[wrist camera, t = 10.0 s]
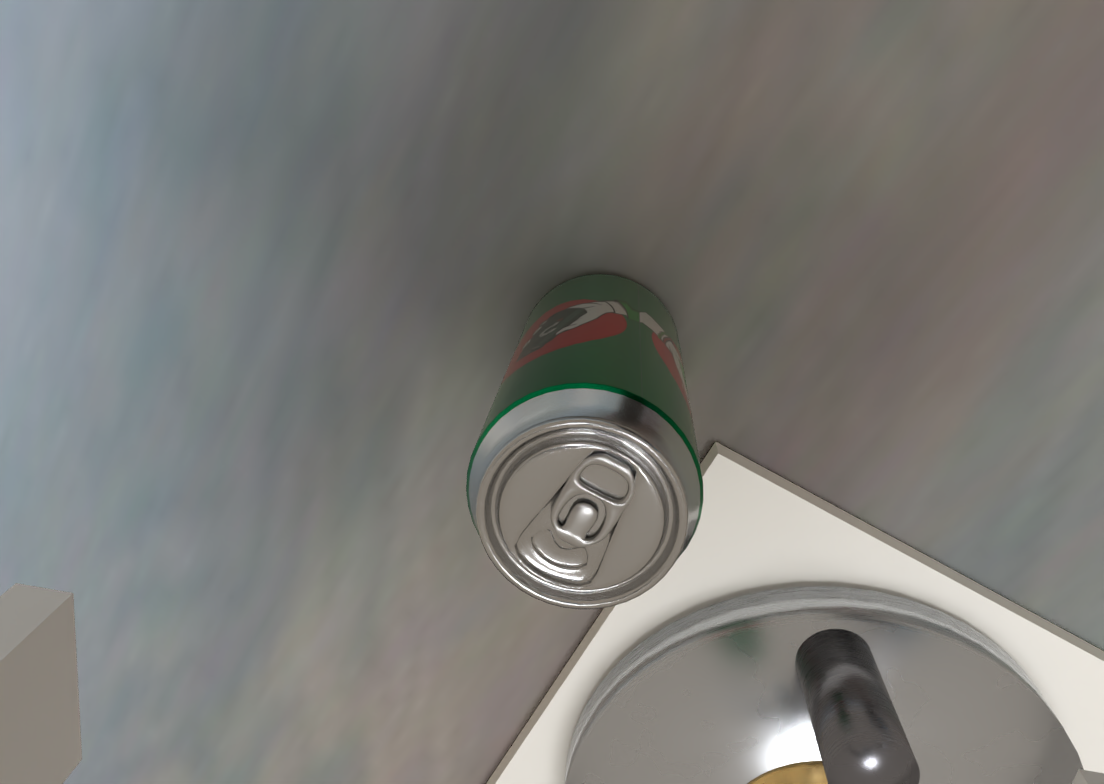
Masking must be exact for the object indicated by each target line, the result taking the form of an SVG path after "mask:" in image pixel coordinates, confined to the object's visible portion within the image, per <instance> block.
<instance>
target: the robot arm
mask: <svg viewBox="0 0 1104 784" xmlns="http://www.w3.org/2000/svg"><path fill="white" fill-rule="evenodd" d="M81 760H82V750H81V731H80V712H79V693H78V674H77V655H76V636H75V618H74V599H73V593H69V592H64V591H58V590H52V589H46V588H41V587H35V586H29V585H24V584H18V583H16V584H15V585H13V586H12V587H11V588H10V589H9V590H7V591H6V592H5V593H4V594H3V595H1V596H0V784H63V782H64V781H65V780H66V779H67V777H68V776H69V775H70V774H71V772H72V771H73V770H74V769H75V767H76V766H77V765H78V764H79V762H80V761H81ZM1072 784H1104V773H1099V772H1093V771H1087V770H1082V769H1078V771H1077V773H1076V776H1075V778H1074V780H1073V782H1072Z"/></svg>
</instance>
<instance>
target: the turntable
mask: <svg viewBox="0 0 1104 784" xmlns="http://www.w3.org/2000/svg"><path fill="white" fill-rule="evenodd" d="M1078 769H1082V770H1084V769H1083V766H1082V763H1081V760H1080V758H1079V755H1078V752H1077V751H1076V749H1075V747H1074V745H1073V744H1072V742H1071V740H1070V738H1069V737H1068V735H1067V733H1066V731H1065V730H1064V728H1063V726H1062V725H1061V723H1060V722H1059V720H1058V719H1057V717H1056V716H1055V714H1054V713H1053V711H1052V710H1051V708H1050V706H1049V705H1048V703H1047V702H1046V700H1045V699H1044V697H1043V696H1042V694H1041V693H1040V691H1039V690H1038V688H1037V687H1036V685H1035V684H1034V683H1033V682H1032V681H1031V679H1030V678H1029V677H1028V676H1027V674H1026V673H1025V672H1024V671H1023V669H1022V668H1021V667H1020V666H1019V664H1018V663H1017V662H1015V661H1014V660H1013V659H1012V658H1011V657H1010V656H1009V655H1008V654H1007V653H1006V652H1004V651H1003V650H1002V649H1001V648H1000V647H999V646H998V645H997V644H996V643H994V642H993V641H991V640H990V639H989V638H987V637H986V636H984V635H983V634H981V633H980V632H978V631H977V630H975V629H974V628H972V627H971V626H969V625H968V624H966V623H964V622H962V621H960V620H958V619H956V618H954V617H952V616H950V615H948V614H946V613H944V612H942V611H940V610H938V609H935V608H932V607H929V606H926V605H924V604H921V603H918V602H915V601H912V600H909V599H907V598H903V597H898V596H894V595H889V594H885V593H881V592H876V591H872V590H863V589H854V588H844V587H793V588H784V589H776V590H767V591H761V592H757V593H753V594H748V595H744V596H740V597H735V598H731V599H728V600H725V601H722V602H719V603H717V604H714V605H711V606H708V607H705V608H702V609H699V610H697V611H695V612H693V613H691V614H689V615H687V616H685V617H683V618H681V619H679V620H677V621H675V622H673V623H671V624H669V625H667V626H666V627H664V628H663V629H661V630H659V631H658V632H656V633H655V634H653V635H652V636H650V637H649V638H647V639H646V640H644V641H643V642H641V643H640V644H639V645H638V646H637V647H636V648H634V649H633V650H632V651H631V652H630V653H629V654H627V655H626V656H625V657H624V658H623V659H622V660H620V661H619V662H618V663H617V665H616V666H615V667H614V668H613V669H612V670H611V671H610V672H609V674H608V675H607V676H606V677H605V678H604V679H603V680H602V682H601V683H600V684H599V686H598V687H597V689H596V690H595V692H594V693H593V695H592V696H591V698H590V699H589V701H588V702H587V704H586V705H585V707H584V709H583V712H582V714H581V716H580V718H579V721H578V723H577V725H576V727H575V729H574V732H573V736H572V740H571V743H570V747H569V751H568V754H567V763H566V773H565V784H1072V782H1073V780H1074V778H1075V776H1076V773H1077V771H1078Z"/></svg>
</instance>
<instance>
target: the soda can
mask: <svg viewBox="0 0 1104 784" xmlns="http://www.w3.org/2000/svg"><path fill="white" fill-rule="evenodd" d="M466 492H467V500H468V507H469V511H470V514H471V518H472V521H473V524H474V526H475V528H476V530H477V532H478V534H479V536H480V538H481V542H482V544H483V546H484V548H485V550H486V553H487V555H488V557H489V558H490V559H491V561H492V562H493V564H494V565H495V567H496V568H497V569H498V570H499V571H500V572H501V574H502V575H503V576H504V577H505V578H506V579H507V580H508V581H510V582H511V583H512V584H513V585H515V586H516V587H517V588H518V589H520V590H521V591H523V592H525V593H527V594H528V595H530V596H532V597H534V598H536V599H538V600H541V601H543V602H546V603H549V604H552V605H556V606H560V607H564V608H573V609H599V608H605V607H611V606H615V605H618V604H622V603H625V602H627V601H630V600H632V599H634V598H636V597H638V596H640V595H642V594H643V593H645V592H646V591H648V590H649V589H651V588H652V587H654V586H655V585H656V584H657V583H658V582H659V581H660V580H661V579H662V578H664V577H665V575H666V574H667V573H668V572H669V570H670V569H671V568H672V566H673V565H674V563H675V562H676V561H677V559H678V558H679V557H680V556H681V554H682V553H683V552H684V550H685V549H686V548H687V546H688V545H689V543H690V541H691V539H692V537H693V536H694V534H695V532H696V529H697V526H698V523H699V520H700V517H701V512H702V506H703V478H702V473H701V467H700V461H699V455H698V450H697V444H696V438H695V432H694V427H693V421H692V415H691V409H690V403H689V398H688V392H687V386H686V380H685V375H684V369H683V363H682V357H681V352H680V346H679V340H678V335H677V330H676V327H675V325H674V322H673V319H672V318H671V316H670V314H669V312H668V311H667V309H666V308H665V306H664V305H663V304H662V303H661V301H660V300H659V299H658V298H657V297H656V296H655V295H654V294H652V293H651V292H650V291H649V290H647V289H646V288H644V287H643V286H641V285H640V284H638V283H636V282H633V281H631V280H629V279H626V278H622V277H619V276H615V275H605V274H595V275H586V276H581V277H577V278H574V279H571V280H569V281H566V282H564V283H562V284H561V285H559V286H557V287H555V288H554V289H553V290H551V291H550V292H549V293H548V294H546V295H545V296H544V297H543V298H542V299H541V301H540V302H539V303H538V304H537V305H536V307H535V308H534V310H533V311H532V313H531V314H530V316H529V319H528V321H527V323H526V326H525V328H524V331H523V333H522V335H521V338H520V340H519V343H518V345H517V347H516V350H515V352H514V355H513V357H512V359H511V362H510V364H509V366H508V369H507V371H506V374H505V376H504V378H503V381H502V383H501V386H500V388H499V390H498V393H497V395H496V398H495V400H494V402H493V405H492V407H491V410H490V412H489V414H488V417H487V419H486V422H485V424H484V426H483V429H482V431H481V434H480V436H479V438H478V441H477V443H476V446H475V448H474V450H473V453H472V455H471V459H470V463H469V467H468V471H467V485H466Z"/></svg>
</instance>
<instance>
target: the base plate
mask: <svg viewBox="0 0 1104 784" xmlns="http://www.w3.org/2000/svg"><path fill="white" fill-rule="evenodd" d="M700 467H701V473H702V478H703V506H702V512H701V517H700V520H699V523H698V526H697V529H696V532H695V534H694V536H693V537H692V539H691V541H690V543H689V545H688V546H687V548H686V549H685V550H684V552H683V553H682V554H681V556H680V557H679V558H678V559H677V561H676V562H675V563H674V565H673V566H672V568H671V569H670V570H669V572H668V573H667V574H666V575H665V577H664V578H662V579H661V580H660V581H659V582H658V583H657V584H656V585H655V586H654V587H652V588H651V589H649V590H648V591H646V592H645V593H643V594H642V595H640V596H638V597H636V598H634V599H632V600H630V601H627V602H625V603H622V604H618V605H615V606H611V607H605V608H604V609H603V610H602V612H601V613H600V615H599V616H598V618H597V619H596V621H595V622H594V624H593V625H592V627H591V628H590V630H589V631H588V633H587V634H586V635H585V637H584V638H583V640H582V641H581V643H580V644H579V646H578V647H577V649H576V650H575V652H574V653H573V655H572V656H571V658H570V659H569V661H568V662H567V664H566V665H565V667H564V668H563V670H562V671H561V673H560V674H559V676H558V677H557V679H556V680H555V682H554V683H553V685H552V686H551V688H550V689H549V691H548V692H547V694H546V695H545V697H544V698H543V700H542V701H541V703H540V704H539V706H538V707H537V709H536V710H535V712H534V713H533V715H532V716H531V718H530V719H529V721H528V722H527V723H526V725H525V726H524V728H523V729H522V731H521V732H520V734H519V735H518V737H517V738H516V740H515V741H514V743H513V744H512V746H511V747H510V749H509V750H508V752H507V753H506V755H505V756H504V758H503V759H502V761H501V762H500V764H499V765H498V767H497V768H496V770H495V771H494V773H493V774H492V776H491V777H490V779H489V780H488V782H487V783H486V784H565V773H566V763H567V754H568V751H569V747H570V743H571V740H572V736H573V732H574V729H575V727H576V725H577V723H578V721H579V718H580V716H581V714H582V712H583V709H584V707H585V705H586V704H587V702H588V701H589V699H590V698H591V696H592V695H593V693H594V692H595V690H596V689H597V687H598V686H599V684H600V683H601V682H602V680H603V679H604V678H605V677H606V676H607V675H608V674H609V672H610V671H611V670H612V669H613V668H614V667H615V666H616V665H617V663H618V662H619V661H620V660H622V659H623V658H624V657H625V656H626V655H627V654H629V653H630V652H631V651H632V650H633V649H634V648H636V647H637V646H638V645H639V644H640V643H641V642H643V641H644V640H646V639H647V638H649V637H650V636H652V635H653V634H655V633H656V632H658V631H659V630H661V629H663V628H664V627H666V626H667V625H669V624H671V623H673V622H675V621H677V620H679V619H681V618H683V617H685V616H687V615H689V614H691V613H693V612H695V611H697V610H699V609H702V608H705V607H708V606H711V605H714V604H717V603H719V602H722V601H725V600H728V599H731V598H735V597H740V596H744V595H748V594H753V593H757V592H761V591H767V590H776V589H784V588H793V587H844V588H854V589H863V590H872V591H876V592H881V593H885V594H889V595H894V596H898V597H903V598H907V599H909V600H912V601H915V602H918V603H921V604H924V605H926V606H929V607H932V608H935V609H938V610H940V611H942V612H944V613H946V614H948V615H950V616H952V617H954V618H956V619H958V620H960V621H962V622H964V623H966V624H968V625H969V626H971V627H972V628H974V629H975V630H977V631H978V632H980V633H981V634H983V635H984V636H986V637H987V638H989V639H990V640H991V641H993V642H994V643H996V644H997V645H998V646H999V647H1000V648H1001V649H1002V650H1003V651H1004V652H1006V653H1007V654H1008V655H1009V656H1010V657H1011V658H1012V659H1013V660H1014V661H1015V662H1017V663H1018V664H1019V666H1020V667H1021V668H1022V669H1023V671H1024V672H1025V673H1026V674H1027V676H1028V677H1029V678H1030V679H1031V681H1032V682H1033V683H1034V684H1035V685H1036V687H1037V688H1038V690H1039V691H1040V693H1041V694H1042V696H1043V697H1044V699H1045V700H1046V702H1047V703H1048V705H1049V706H1050V708H1051V710H1052V711H1053V713H1054V714H1055V716H1056V717H1057V719H1058V720H1059V722H1060V723H1061V725H1062V726H1063V728H1064V730H1065V731H1066V733H1067V735H1068V737H1069V738H1070V740H1071V742H1072V744H1073V745H1074V747H1075V749H1076V751H1077V752H1078V755H1079V758H1080V760H1081V763H1082V766H1083V769H1084V770H1087V771H1093V772H1099V773H1104V651H1103V650H1101V649H1099V648H1097V647H1095V646H1093V645H1091V644H1090V643H1088V642H1086V641H1084V640H1082V639H1080V638H1078V637H1077V636H1075V635H1073V634H1071V633H1069V632H1067V631H1066V630H1064V629H1062V628H1060V627H1058V626H1056V625H1054V624H1053V623H1051V622H1049V621H1047V620H1045V619H1043V618H1041V617H1040V616H1038V615H1036V614H1034V613H1032V612H1030V611H1028V610H1027V609H1025V608H1023V607H1021V606H1019V605H1017V604H1016V603H1014V602H1012V601H1010V600H1008V599H1006V598H1004V597H1003V596H1001V595H999V594H997V593H995V592H993V591H991V590H990V589H988V588H986V587H984V586H982V585H980V584H979V583H977V582H975V581H973V580H971V579H969V578H967V577H966V576H964V575H962V574H960V573H958V572H956V571H954V570H953V569H951V568H949V567H947V566H945V565H943V564H941V563H940V562H938V561H936V560H934V559H932V558H930V557H929V556H927V555H925V554H923V553H921V552H919V551H917V550H916V549H914V548H912V547H910V546H908V545H906V544H904V543H903V542H901V541H899V540H897V539H895V538H893V537H892V536H890V535H888V534H886V533H884V532H882V531H880V530H879V529H877V528H875V527H873V526H871V525H869V524H867V523H866V522H864V521H862V520H860V519H858V518H856V517H854V516H853V515H851V514H849V513H847V512H845V511H843V510H842V509H840V508H838V507H836V506H834V505H832V504H830V503H829V502H827V501H825V500H823V499H821V498H819V497H817V496H816V495H814V494H812V493H810V492H808V491H806V490H804V489H803V488H801V487H799V486H797V485H795V484H793V483H792V482H790V481H788V480H786V479H784V478H782V477H780V476H779V475H777V474H775V473H773V472H771V471H769V470H767V469H766V468H764V467H762V466H760V465H758V464H756V463H755V462H753V461H751V460H749V459H747V458H745V457H743V456H742V455H740V454H738V453H736V452H734V451H732V450H730V449H729V448H727V447H725V446H723V445H721V444H719V443H717V442H715V443H714V445H713V446H712V448H711V449H710V451H709V452H708V454H707V455H706V457H705V458H704V460H703V461H702V462H701V464H700Z"/></svg>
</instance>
